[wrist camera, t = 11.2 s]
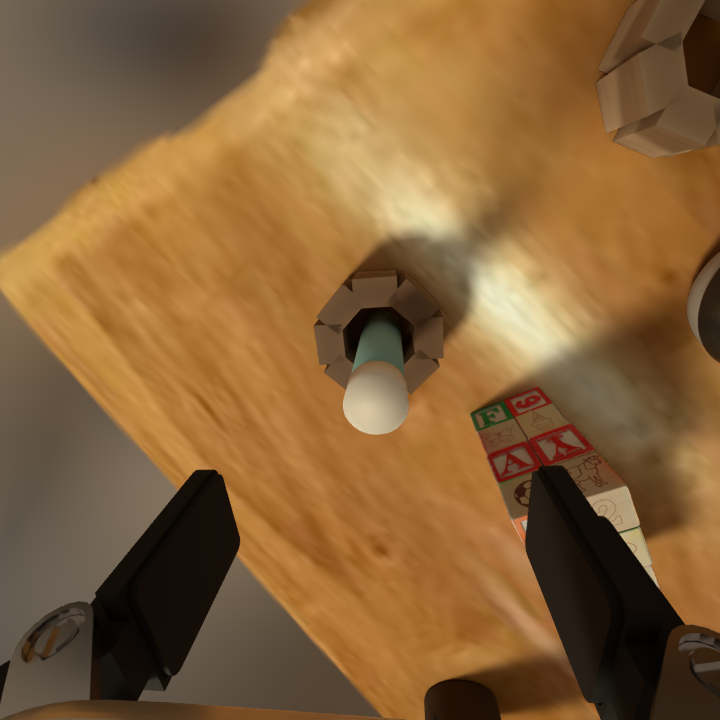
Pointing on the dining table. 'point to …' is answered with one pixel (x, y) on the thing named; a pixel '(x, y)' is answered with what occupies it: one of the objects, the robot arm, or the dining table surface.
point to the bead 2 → (657, 81)
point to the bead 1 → (380, 292)
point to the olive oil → (460, 702)
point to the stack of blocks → (553, 447)
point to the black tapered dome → (706, 307)
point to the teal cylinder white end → (377, 378)
